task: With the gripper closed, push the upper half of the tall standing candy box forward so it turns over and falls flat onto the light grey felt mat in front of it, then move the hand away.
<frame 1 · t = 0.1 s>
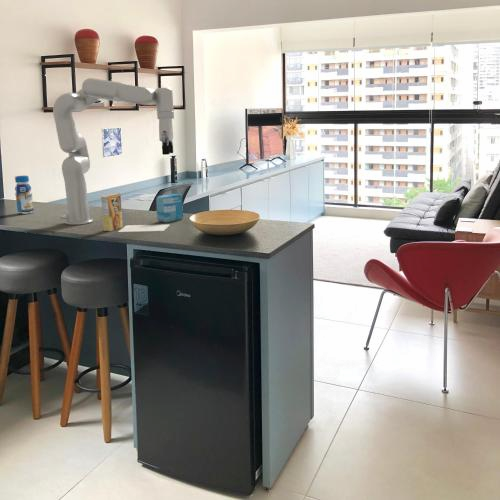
hand: (168, 153, 273), 31 cm above the countertop, tool pointing down, fingers open, 9 cm apart
felt mat: (144, 228, 261), on the countertop
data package: (170, 221, 280), on the countertop
beverage bottle: (26, 213, 318), on the countertop
candy box: (113, 229, 263), on the countertop
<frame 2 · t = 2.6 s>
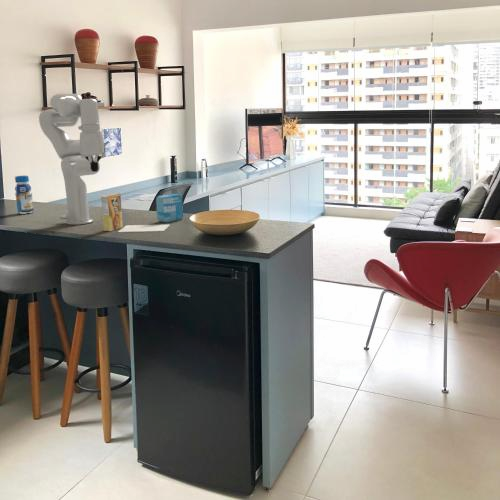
hand: (95, 171, 258), 26 cm above the countertop, tool pointing down, fingers closed
nothing on the countertop moved.
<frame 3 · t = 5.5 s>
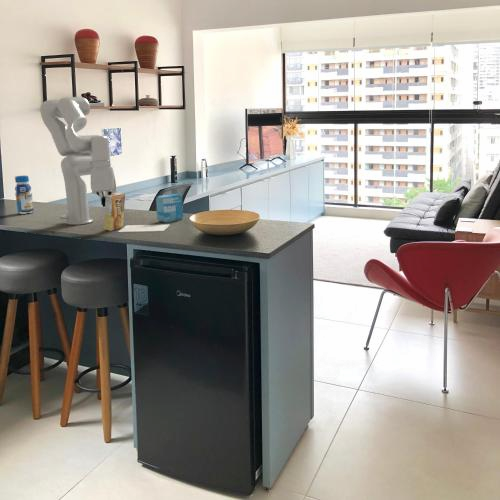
hand: (105, 206, 260), 10 cm above the countertop, tool pointing down, fingers closed
candy box: (113, 228, 263), on the countertop, touching gripper
everything else where it was.
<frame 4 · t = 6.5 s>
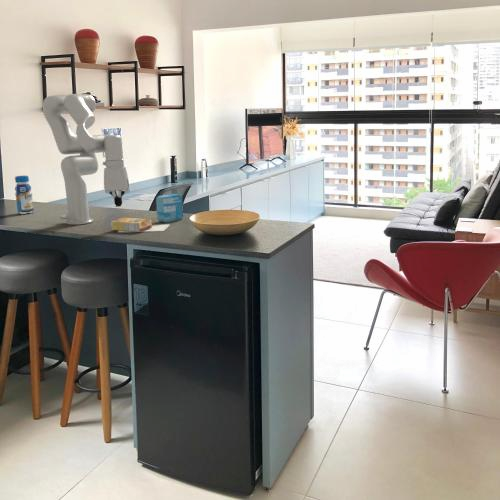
hand: (118, 206, 260), 10 cm above the countertop, tool pointing down, fingers closed
candy box: (117, 223, 262), point 2 cm above the countertop, touching felt mat
everything else where it was.
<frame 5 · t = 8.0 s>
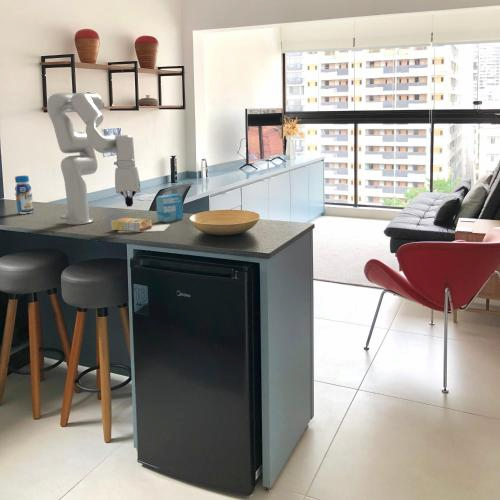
hand: (129, 206, 260), 10 cm above the countertop, tool pointing down, fingers closed
nothing on the countertop moved.
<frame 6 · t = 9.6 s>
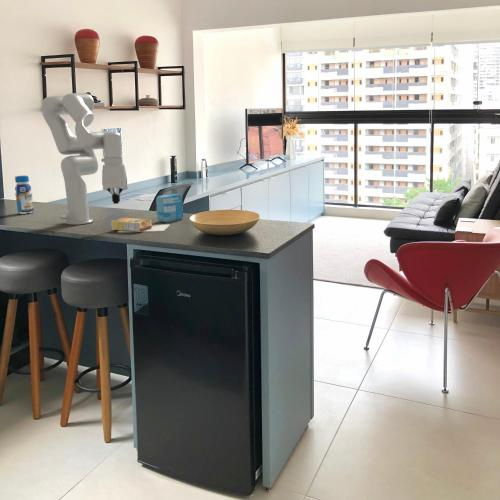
hand: (116, 203, 260), 12 cm above the countertop, tool pointing down, fingers closed
nothing on the countertop moved.
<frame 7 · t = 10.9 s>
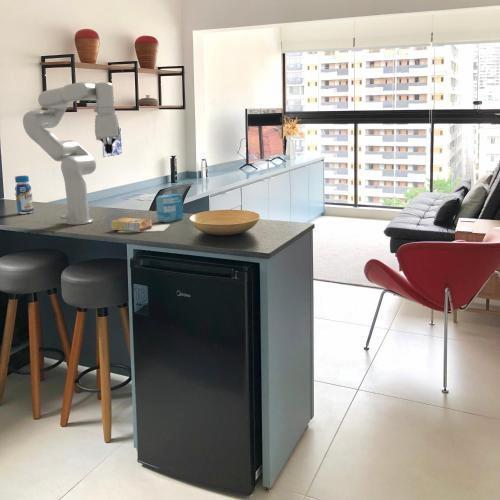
hand: (109, 153, 266), 33 cm above the countertop, tool pointing down, fingers closed
nothing on the countertop moved.
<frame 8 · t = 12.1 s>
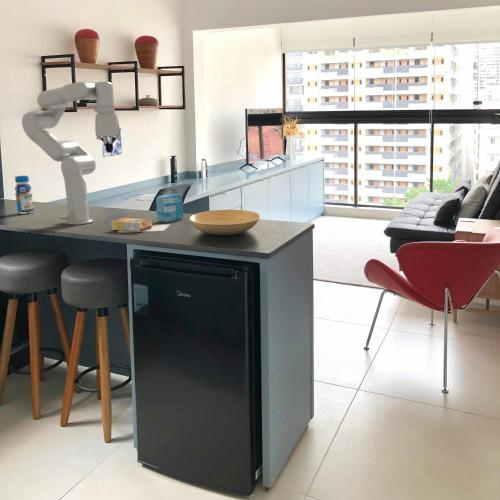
hand: (109, 152, 266), 33 cm above the countertop, tool pointing down, fingers closed
nothing on the countertop moved.
at the end: candy box tilted 90°; candy box inside the target area (10.7 cm from its centre), point 2.4 cm above the countertop; the gripper is holding nothing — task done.
